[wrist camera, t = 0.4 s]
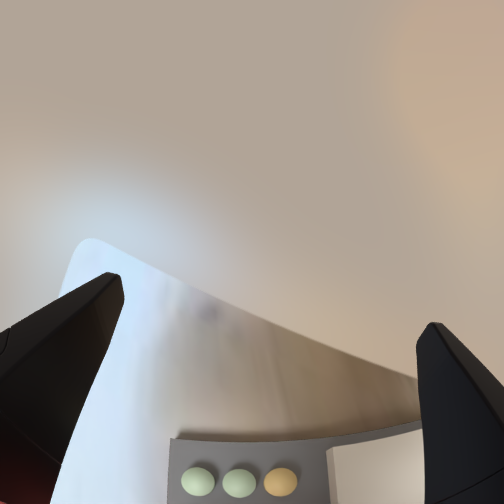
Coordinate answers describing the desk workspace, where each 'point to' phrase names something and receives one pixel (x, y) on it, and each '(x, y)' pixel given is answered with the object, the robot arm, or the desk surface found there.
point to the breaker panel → (302, 470)
